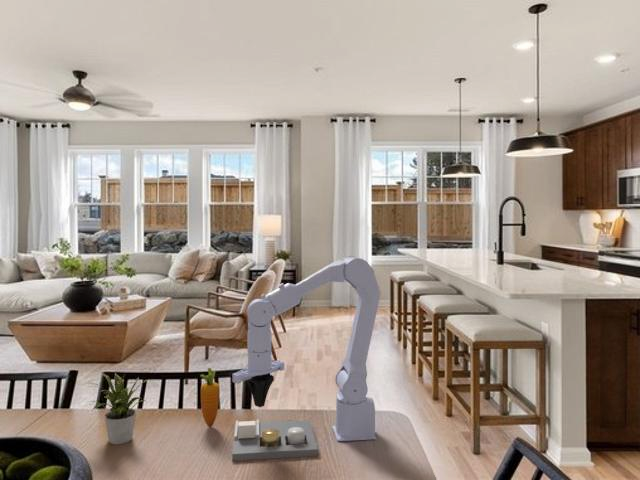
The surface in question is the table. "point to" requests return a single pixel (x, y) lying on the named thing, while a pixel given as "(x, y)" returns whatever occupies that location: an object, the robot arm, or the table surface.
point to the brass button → (270, 437)
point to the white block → (246, 429)
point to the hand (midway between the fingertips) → (259, 405)
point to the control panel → (252, 449)
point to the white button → (296, 436)
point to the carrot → (209, 398)
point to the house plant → (119, 411)
